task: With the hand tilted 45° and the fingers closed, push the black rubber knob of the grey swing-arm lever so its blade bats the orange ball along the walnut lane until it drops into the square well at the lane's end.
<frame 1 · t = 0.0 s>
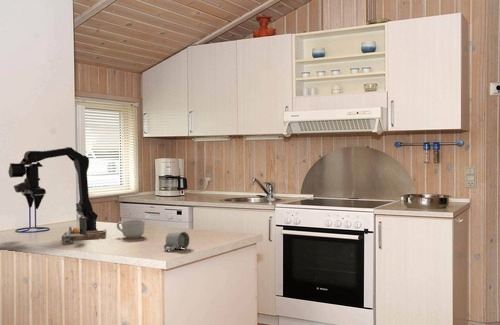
hand: (33, 208, 260), 15 cm above the counter, tool pointing down, fingers open, 9 cm apart
teacup: (130, 237, 258), on the counter
ceramic mug: (175, 249, 227), on the counter
lane: (70, 238, 257), on the counter
pivot post: (67, 243, 245), on the counter
ball: (75, 234, 257), point 2 cm above the counter, touching lane
lever: (76, 224, 251), point 8 cm above the counter, hinge at 0.0°
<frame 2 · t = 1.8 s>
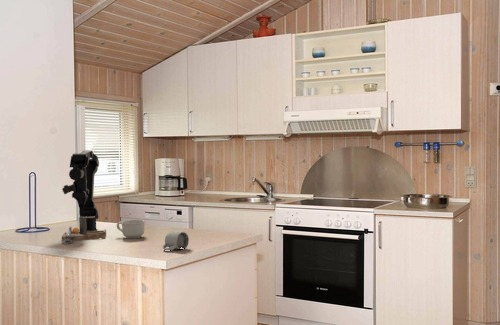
hand: (81, 210, 262), 13 cm above the counter, tool pointing down, fingers closed
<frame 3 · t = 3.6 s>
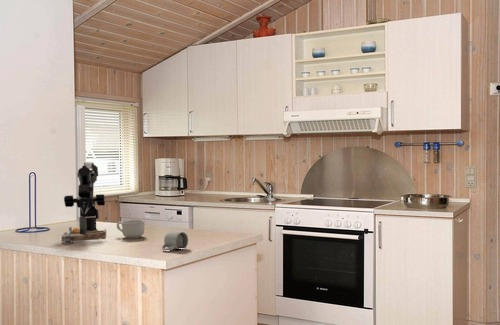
hand: (84, 214, 253), 12 cm above the counter, tool tilted 45°, fingers closed
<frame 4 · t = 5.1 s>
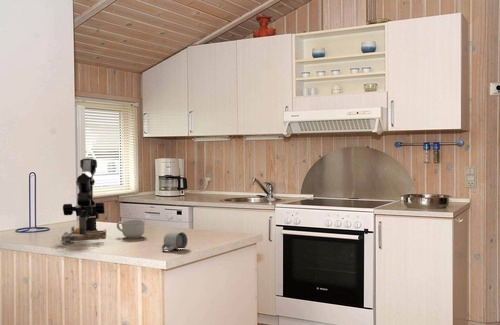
hand: (83, 223, 247), 9 cm above the counter, tool tilted 45°, fingers closed, pressing on lever
ball: (76, 233, 257), point 2 cm above the counter, tilted 43°, touching lane
lever: (77, 224, 251), point 8 cm above the counter, hinge at -5.8°, touching gripper
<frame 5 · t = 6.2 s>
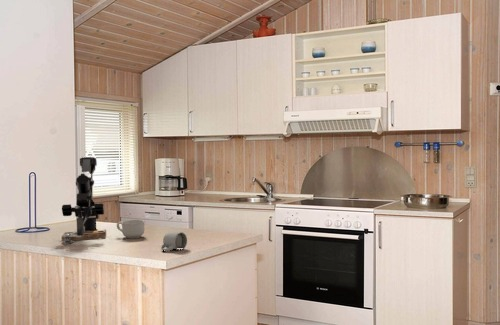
hand: (82, 223, 245), 9 cm above the counter, tool tilted 45°, fingers closed
ball: (96, 237, 259), resting in lane, tilted 10°
lever: (80, 225, 250), point 7 cm above the counter, hinge at -27.9°, touching gripper
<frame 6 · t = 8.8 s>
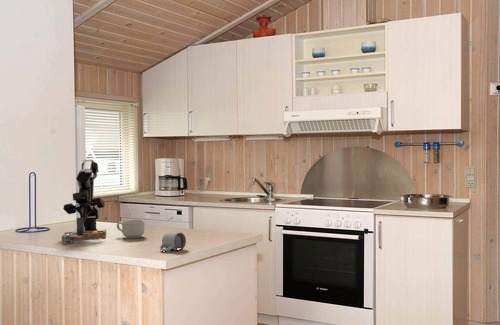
hand: (83, 221, 254), 9 cm above the counter, tool tilted 35°, fingers closed
ball: (96, 237, 259), resting in lane, tilted 21°
lever: (80, 225, 250), point 8 cm above the counter, hinge at -28.1°
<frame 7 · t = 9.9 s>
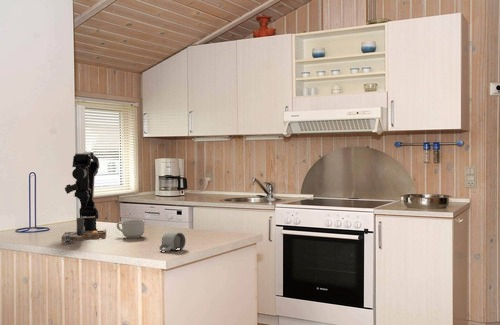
hand: (83, 209, 265), 13 cm above the counter, tool pointing down, fingers closed
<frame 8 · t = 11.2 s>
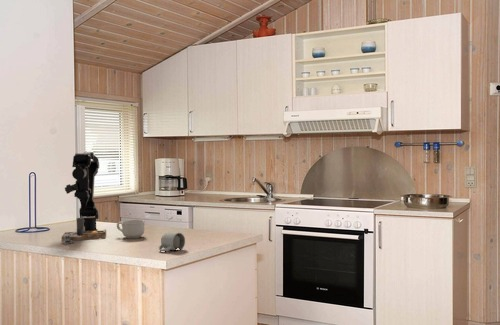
hand: (83, 209, 265), 13 cm above the counter, tool pointing down, fingers closed
ball: (96, 236, 259), resting in lane, tilted 30°
at the end: lever at -28° (first picture: +0°); ball 1.1 cm from the target spot, resting in lane; ball touching counter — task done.
